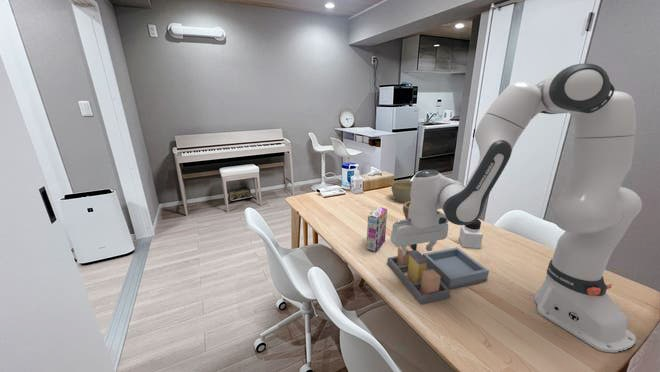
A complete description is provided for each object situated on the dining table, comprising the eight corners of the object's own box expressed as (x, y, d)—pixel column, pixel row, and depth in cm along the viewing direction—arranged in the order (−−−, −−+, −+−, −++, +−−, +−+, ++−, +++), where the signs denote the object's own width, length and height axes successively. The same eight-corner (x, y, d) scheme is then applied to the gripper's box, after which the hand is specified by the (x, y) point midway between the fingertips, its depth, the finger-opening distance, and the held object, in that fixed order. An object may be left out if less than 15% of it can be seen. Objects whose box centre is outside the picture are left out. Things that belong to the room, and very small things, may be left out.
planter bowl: (400, 193, 179) (401, 178, 175) (421, 200, 167) (423, 184, 163) (385, 199, 169) (385, 183, 166) (406, 207, 157) (407, 190, 154)
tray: (487, 280, 95) (489, 270, 94) (449, 288, 91) (450, 279, 90) (455, 255, 110) (457, 247, 108) (422, 262, 106) (423, 253, 104)
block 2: (437, 296, 88) (440, 276, 85) (427, 299, 87) (429, 278, 84) (430, 288, 91) (432, 269, 89) (420, 290, 90) (422, 271, 88)
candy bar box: (376, 253, 113) (378, 218, 107) (366, 249, 115) (367, 215, 110) (385, 241, 122) (387, 208, 116) (375, 238, 124) (377, 206, 119)
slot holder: (449, 297, 87) (450, 291, 87) (420, 304, 85) (421, 298, 84) (411, 258, 108) (412, 253, 108) (387, 263, 106) (387, 257, 105)
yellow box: (424, 283, 94) (426, 259, 91) (416, 284, 93) (419, 260, 90) (414, 273, 100) (417, 250, 96) (407, 274, 99) (409, 251, 96)
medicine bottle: (480, 248, 114) (485, 224, 110) (462, 247, 116) (466, 222, 112) (475, 240, 121) (479, 216, 117) (458, 239, 122) (462, 215, 118)
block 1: (411, 268, 102) (413, 250, 100) (402, 269, 101) (403, 251, 99) (405, 262, 106) (407, 244, 103) (397, 263, 105) (398, 246, 103)
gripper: (398, 225, 84) (394, 262, 89) (453, 217, 89) (447, 252, 93) (389, 216, 90) (386, 251, 94) (441, 210, 94) (436, 243, 99)
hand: (417, 252), depth 94 cm, fingers open, 8 cm apart
